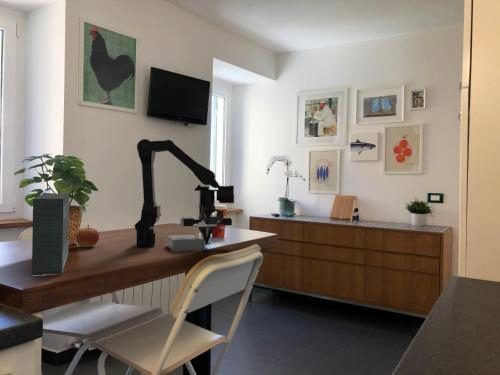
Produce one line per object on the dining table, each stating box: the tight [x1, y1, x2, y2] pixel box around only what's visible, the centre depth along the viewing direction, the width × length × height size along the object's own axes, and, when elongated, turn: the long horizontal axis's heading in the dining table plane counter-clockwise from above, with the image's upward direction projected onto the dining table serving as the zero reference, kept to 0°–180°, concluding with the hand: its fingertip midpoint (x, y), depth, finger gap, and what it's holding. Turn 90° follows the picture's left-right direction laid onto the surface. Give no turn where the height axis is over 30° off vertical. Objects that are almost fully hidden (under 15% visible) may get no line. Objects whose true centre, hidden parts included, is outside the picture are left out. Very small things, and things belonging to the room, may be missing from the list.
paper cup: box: [211, 204, 228, 239], centre depth 179 cm, size 8×8×14 cm
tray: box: [197, 236, 207, 250], centre depth 150 cm, size 11×11×3 cm
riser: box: [198, 232, 212, 244], centre depth 163 cm, size 4×4×4 cm
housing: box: [166, 234, 203, 252], centre depth 149 cm, size 10×11×4 cm
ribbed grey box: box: [31, 192, 70, 276], centre depth 117 cm, size 29×7×20 cm, turn 21°
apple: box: [75, 224, 100, 248], centre depth 146 cm, size 8×8×8 cm
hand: (206, 244), depth 153 cm, fingers closed
